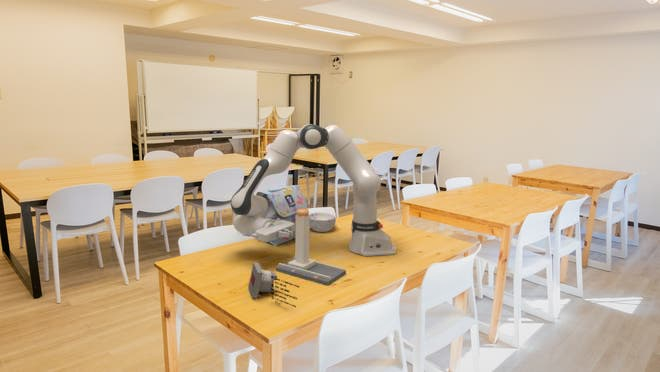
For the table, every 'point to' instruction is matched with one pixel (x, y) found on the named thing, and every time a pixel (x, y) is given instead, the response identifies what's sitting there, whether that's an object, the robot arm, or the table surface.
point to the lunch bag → (284, 207)
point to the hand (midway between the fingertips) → (290, 234)
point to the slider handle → (302, 241)
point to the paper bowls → (321, 221)
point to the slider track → (314, 272)
